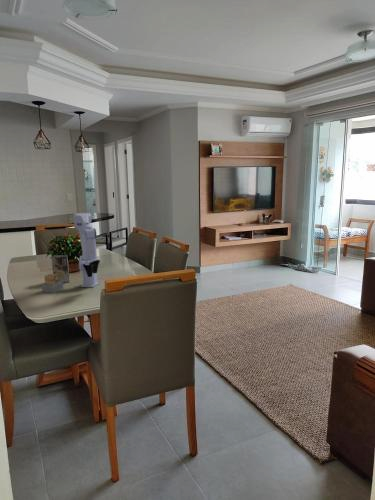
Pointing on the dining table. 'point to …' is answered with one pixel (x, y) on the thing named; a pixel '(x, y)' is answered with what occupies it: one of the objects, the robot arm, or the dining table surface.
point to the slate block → (52, 287)
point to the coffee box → (61, 268)
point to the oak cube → (51, 279)
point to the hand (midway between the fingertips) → (92, 274)
